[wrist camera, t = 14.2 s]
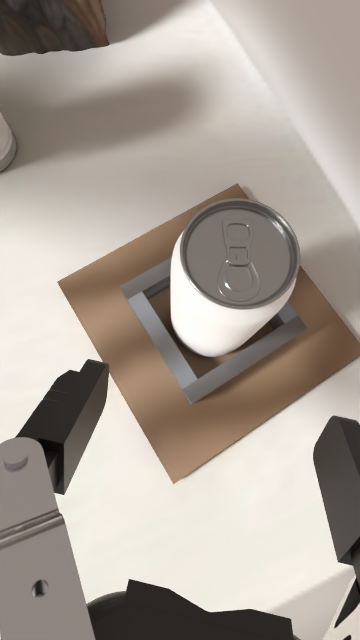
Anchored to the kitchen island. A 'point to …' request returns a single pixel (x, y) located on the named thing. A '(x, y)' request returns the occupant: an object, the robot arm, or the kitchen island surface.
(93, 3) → the brown rock
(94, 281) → the mount
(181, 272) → the can
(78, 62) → the kitchen island surface
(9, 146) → the travel mug
